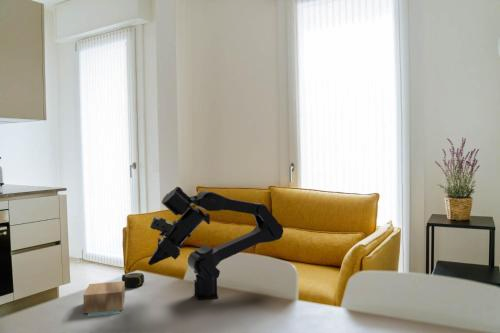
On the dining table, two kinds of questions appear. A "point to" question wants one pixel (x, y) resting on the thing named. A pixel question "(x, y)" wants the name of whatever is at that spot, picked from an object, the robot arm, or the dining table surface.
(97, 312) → the mat
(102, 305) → the light brown wooden block
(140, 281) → the tape measure
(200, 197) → the robot arm
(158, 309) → the dining table surface
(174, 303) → the dining table surface
